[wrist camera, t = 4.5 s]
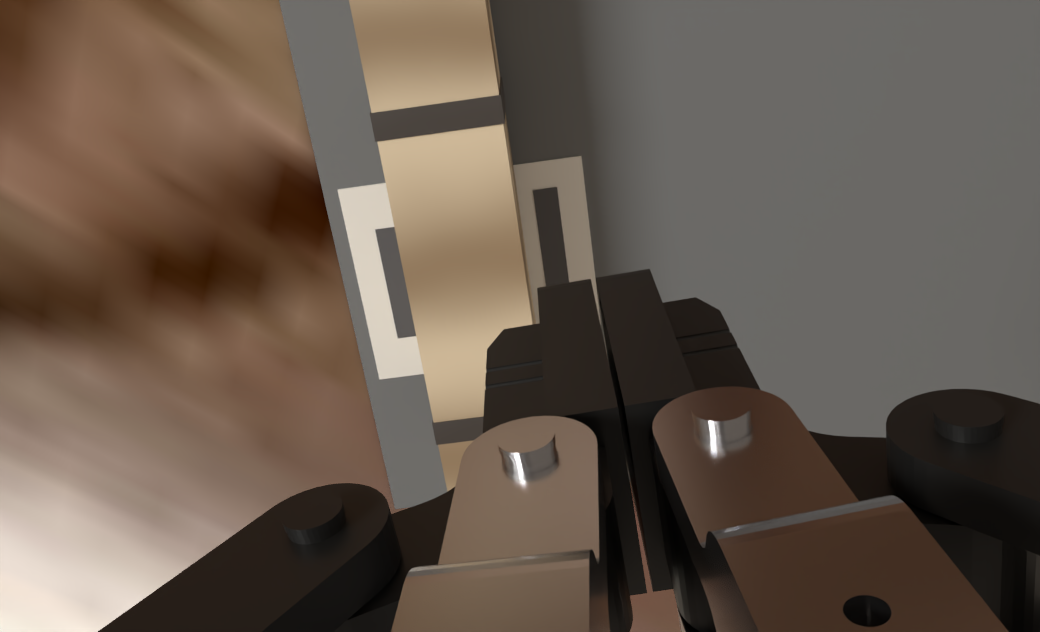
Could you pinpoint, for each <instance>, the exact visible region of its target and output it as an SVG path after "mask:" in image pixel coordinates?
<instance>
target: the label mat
mask: <svg viewBox="0 0 1040 632" xmlns="http://www.w3.org/2000/svg"><path fill="white" fill-rule="evenodd" d="M279 2H280V6H281V11H282V15H283V19H284V24H285V28H286V33H287V37H288V41H289V46H290V50H291V55H292V59H293V63H294V68H295V72H296V76H297V81H298V85H299V90H300V94H301V98H302V103H303V107H304V112H305V116H306V120H307V125H308V129H309V133H310V138H311V142H312V147H313V151H314V155H315V160H316V164H317V169H318V173H319V177H320V182H321V186H322V190H323V195H324V199H325V204H326V208H327V212H328V217H329V221H330V226H331V230H332V234H333V239H334V243H335V247H336V252H337V256H338V261H339V265H340V269H341V274H342V278H343V283H344V287H345V291H346V296H347V300H348V304H349V309H350V313H351V318H352V322H353V326H354V331H355V335H356V339H357V344H358V348H359V353H360V357H361V361H362V366H363V370H364V375H365V379H366V383H367V388H368V392H369V396H370V401H371V405H372V410H373V414H374V418H375V423H376V427H377V432H378V436H379V440H380V445H381V449H382V453H383V458H384V462H385V467H386V471H387V475H388V480H389V484H390V489H391V493H392V497H393V502H394V506H395V509H399V508H407V507H413V506H416V505H419V504H422V503H424V502H427V501H429V500H432V499H434V498H436V497H438V496H440V495H442V494H444V493H446V492H447V487H446V482H445V477H444V472H443V467H442V462H441V457H440V452H439V447H438V445H436V441H435V436H434V431H433V426H432V420H433V417H432V412H431V407H430V402H429V397H428V392H427V387H426V382H425V377H424V372H423V367H422V362H421V357H420V352H419V347H418V342H417V337H416V332H415V327H414V322H413V317H412V312H411V307H410V302H409V297H408V292H407V287H406V282H405V277H404V272H403V267H402V262H401V257H400V252H399V247H398V242H397V237H396V232H395V227H394V222H393V217H392V212H391V207H390V202H389V197H388V192H387V187H386V182H385V177H384V172H383V167H382V163H381V158H380V153H379V148H378V143H377V142H375V138H374V133H373V128H372V123H371V118H370V112H371V108H370V103H369V98H368V93H367V88H366V83H365V78H364V73H363V68H362V63H361V58H360V53H359V48H358V43H357V38H356V33H355V28H354V23H353V18H352V13H351V8H350V3H349V0H279ZM489 2H490V9H491V16H492V23H493V29H494V36H495V43H496V50H497V57H498V64H499V71H500V77H502V80H503V87H504V94H505V101H506V110H505V112H506V119H507V126H508V133H509V140H510V147H511V154H512V161H513V168H514V175H515V181H516V188H517V195H518V202H519V209H520V216H521V223H522V230H523V237H524V244H525V251H526V257H527V264H528V271H529V278H530V285H531V292H532V299H533V306H534V313H535V320H536V324H538V323H539V308H538V293H537V288H539V287H544V286H550V285H556V284H562V283H568V282H574V281H580V280H586V279H591V282H592V287H593V292H594V296H595V301H596V306H597V311H598V315H599V320H600V325H601V330H602V334H603V339H604V332H603V326H602V319H601V313H600V307H599V300H598V294H597V287H596V279H595V278H597V277H603V276H609V275H615V274H621V273H627V272H633V271H638V270H644V269H650V271H651V273H652V276H653V279H654V281H655V284H656V287H657V289H658V292H659V294H660V297H661V300H662V302H663V303H664V302H670V301H676V300H682V299H688V298H694V297H696V298H698V299H700V300H702V301H704V302H706V303H707V304H709V305H711V306H713V307H715V308H717V309H718V310H720V311H721V313H722V315H723V317H724V319H725V321H726V323H727V325H728V327H729V329H730V333H732V335H733V337H734V339H735V341H736V343H737V346H738V348H740V350H741V352H742V354H743V356H744V358H745V360H746V362H747V364H748V366H749V368H750V370H751V372H752V374H753V376H754V378H755V380H756V382H757V384H758V386H759V388H760V390H762V391H765V392H768V393H771V394H773V395H775V396H778V397H779V398H781V399H782V400H784V401H785V402H786V403H787V404H788V405H789V406H790V407H791V408H792V409H793V411H794V412H795V414H796V415H797V416H798V418H799V419H800V420H801V422H802V423H803V425H804V426H805V427H806V429H807V430H808V431H812V432H816V433H820V434H827V435H834V436H848V437H884V438H886V421H887V417H888V415H889V414H890V412H891V411H892V410H893V409H894V408H895V407H896V406H897V405H898V404H900V403H902V402H903V401H905V400H907V399H909V398H912V397H914V396H916V395H920V394H923V393H927V392H932V391H937V390H946V389H977V390H986V391H993V392H997V393H1002V394H1006V395H1010V396H1013V397H1017V398H1021V399H1024V400H1028V401H1032V402H1035V403H1039V404H1040V0H489ZM604 344H605V339H604ZM605 348H606V345H605ZM606 353H607V351H606ZM628 475H629V473H628ZM629 481H630V478H629Z"/></svg>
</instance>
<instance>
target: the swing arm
mask: <svg viewBox="0 0 1040 632" xmlns="http://www.w3.org/2000/svg"><path fill="white" fill-rule="evenodd" d="M349 3H350V8H351V13H352V18H353V23H354V28H355V33H356V38H357V43H358V48H359V53H360V58H361V63H362V68H363V73H364V78H365V83H366V88H367V93H368V98H369V103H370V108H371V112H370V118H371V123H372V128H373V133H374V138H375V142H377V143H378V148H379V153H380V158H381V163H382V167H383V172H384V177H385V182H386V187H387V192H388V197H389V202H390V207H391V212H392V217H393V222H394V227H395V232H396V237H397V242H398V247H399V252H400V257H401V262H402V267H403V272H404V277H405V282H406V287H407V292H408V297H409V302H410V307H411V312H412V317H413V322H414V327H415V332H416V337H417V342H418V347H419V352H420V357H421V362H422V367H423V372H424V377H425V382H426V387H427V392H428V397H429V402H430V407H431V412H432V417H433V420H432V426H433V431H434V436H435V441H436V445H438V447H439V452H440V457H441V462H442V467H443V472H444V477H445V482H446V487H447V492H448V491H449V490H451V489H452V488H454V487H455V485H456V481H457V476H458V472H459V467H460V463H461V459H462V456H463V453H464V452H465V450H466V449H467V447H468V446H469V445H470V444H471V443H472V442H473V441H474V440H475V439H476V438H478V437H479V436H480V435H482V434H483V416H484V397H485V389H486V387H485V378H486V373H487V372H486V360H487V349H488V347H489V346H490V345H491V344H492V343H493V341H494V340H495V339H496V338H497V337H498V335H499V334H500V333H501V332H502V331H503V329H508V328H514V327H520V326H526V325H532V324H536V320H535V313H534V306H533V299H532V292H531V285H530V278H529V271H528V264H527V257H526V251H525V244H524V237H523V230H522V223H521V216H520V209H519V202H518V195H517V188H516V181H515V175H514V168H513V161H512V154H511V147H510V140H509V133H508V126H507V119H506V112H505V110H506V101H505V94H504V87H503V80H502V77H500V71H499V64H498V57H497V50H496V43H495V36H494V29H493V23H492V16H491V9H490V2H489V0H349Z"/></svg>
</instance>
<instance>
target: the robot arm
mask: <svg viewBox="0 0 1040 632" xmlns="http://www.w3.org/2000/svg"><path fill="white" fill-rule="evenodd" d="M595 279H596V287H597V294H598V300H599V307H600V313H601V319H602V326H603V332H604V339H605V344H604V339H603V334H602V330H601V325H600V320H599V315H598V311H597V306H596V301H595V296H594V292H593V287H592V282H591V279H586V280H580V281H574V282H568V283H562V284H556V285H550V286H544V287H539V288H537V293H538V308H539V323H538V324H532V325H526V326H520V327H514V328H508V329H503V331H502V332H501V333H500V334H499V335H498V337H497V338H496V339H495V340H494V341H493V343H492V344H491V345H490V346H489V347H488V349H487V360H486V372H487V373H486V378H485V387H486V389H485V397H484V416H483V434H482V435H480V436H479V437H478V438H476V439H475V440H474V441H473V442H472V443H471V444H470V445H469V446H468V447H467V449H466V450H465V452H464V453H463V456H462V459H461V463H460V467H459V472H458V476H457V481H456V485H455V487H454V488H452V489H451V490H449V491H448V492H446V493H444V494H442V495H440V496H438V497H436V498H434V499H432V500H429V501H427V502H424V503H422V504H419V505H416V506H413V507H410V508H408V509H405V510H402V511H399V512H397V513H394V514H391V512H390V509H389V505H388V502H387V500H386V498H385V497H384V496H383V494H382V493H380V492H379V491H377V490H376V489H374V488H371V487H369V486H365V485H361V484H352V483H341V484H332V485H325V486H321V487H316V488H313V489H310V490H307V491H304V492H301V493H299V494H296V495H294V496H292V497H290V498H288V499H286V500H284V501H282V502H280V503H279V504H277V505H276V506H274V507H273V508H271V509H270V510H268V511H267V512H265V513H264V514H263V515H261V516H260V517H258V518H257V519H256V520H254V521H253V522H251V523H250V524H249V525H247V526H246V527H244V528H243V529H242V530H240V531H239V532H237V533H236V534H234V535H233V536H232V537H230V538H229V539H227V540H226V541H225V542H223V543H222V544H220V545H219V546H218V547H216V548H215V549H213V550H212V551H211V552H209V553H208V554H206V555H205V556H204V557H202V558H201V559H199V560H198V561H197V562H195V563H194V564H192V565H191V566H190V567H188V568H187V569H185V570H184V571H182V572H181V573H180V574H178V575H177V576H175V577H174V578H173V579H171V580H170V581H168V582H167V583H166V584H164V585H163V586H161V587H160V588H159V589H157V590H156V591H154V592H153V593H152V594H150V595H149V596H147V597H146V598H145V599H143V600H142V601H140V602H139V603H138V604H136V605H135V606H133V607H132V608H131V609H129V610H128V611H126V612H125V613H123V614H122V615H121V616H119V617H118V618H116V619H115V620H114V621H112V622H111V623H109V624H108V625H107V626H105V627H104V628H102V629H101V630H100V631H98V632H629V631H630V629H631V626H632V621H633V613H632V606H631V600H630V595H636V594H643V593H647V590H646V584H645V577H644V571H643V565H642V558H641V552H640V545H639V539H638V533H637V526H636V520H635V513H634V507H633V501H632V494H631V488H630V482H631V487H632V492H633V497H634V502H635V507H636V512H637V516H638V521H639V526H640V531H641V536H642V541H643V546H644V550H645V555H646V560H647V565H648V570H649V575H650V580H651V584H652V589H653V592H654V591H661V590H668V589H674V594H675V598H676V602H677V608H678V615H679V622H680V629H681V632H1040V404H1039V403H1035V402H1032V401H1028V400H1024V399H1021V398H1017V397H1013V396H1010V395H1006V394H1002V393H997V392H993V391H986V390H977V389H946V390H937V391H932V392H927V393H923V394H920V395H916V396H914V397H912V398H909V399H907V400H905V401H903V402H902V403H900V404H898V405H897V406H896V407H895V408H894V409H893V410H892V411H891V412H890V414H889V415H888V417H887V421H886V438H884V437H848V436H834V435H827V434H820V433H816V432H812V431H808V430H807V429H806V427H805V426H804V425H803V423H802V422H801V420H800V419H799V418H798V416H797V415H796V414H795V412H794V411H793V409H792V408H791V407H790V406H789V405H788V404H787V403H786V402H785V401H784V400H782V399H781V398H779V397H778V396H775V395H773V394H771V393H768V392H765V391H762V390H760V388H759V386H758V384H757V382H756V380H755V378H754V376H753V374H752V372H751V370H750V368H749V366H748V364H747V362H746V360H745V358H744V356H743V354H742V352H741V350H740V348H738V346H737V343H736V341H735V339H734V337H733V335H732V333H730V329H729V327H728V325H727V323H726V321H725V319H724V317H723V315H722V313H721V311H720V310H718V309H717V308H715V307H713V306H711V305H709V304H707V303H706V302H704V301H702V300H700V299H698V298H696V297H694V298H688V299H682V300H676V301H670V302H664V303H663V302H662V300H661V297H660V294H659V292H658V289H657V287H656V284H655V281H654V279H653V276H652V273H651V271H650V269H644V270H638V271H633V272H627V273H621V274H615V275H609V276H603V277H597V278H595ZM605 345H606V348H605ZM606 351H607V353H606ZM628 473H629V475H628ZM629 478H630V481H629Z"/></svg>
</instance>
